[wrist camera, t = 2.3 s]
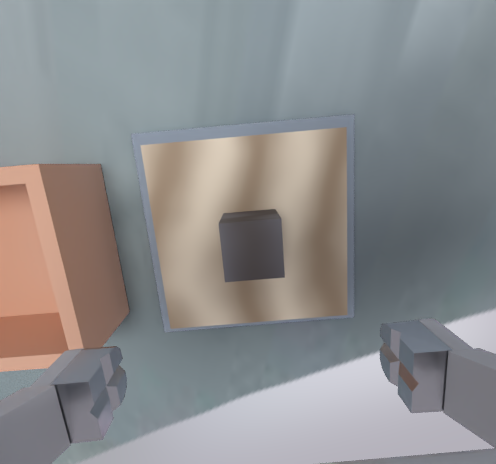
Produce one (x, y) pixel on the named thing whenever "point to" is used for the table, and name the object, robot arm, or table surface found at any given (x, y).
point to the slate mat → (239, 131)
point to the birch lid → (251, 226)
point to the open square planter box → (56, 264)
